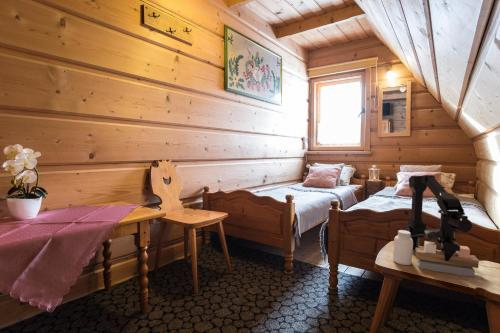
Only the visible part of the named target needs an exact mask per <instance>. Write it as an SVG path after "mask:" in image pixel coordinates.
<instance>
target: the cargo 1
mask: <svg viewBox="0 0 500 333" xmlns="http://www.w3.org/2000/svg"><path fill="white" fill-rule="evenodd" d="M423 249H424V251H425V252H427V253H434V254H436V250H437V244H436V242H433V241H427V240H424V244H423Z"/></svg>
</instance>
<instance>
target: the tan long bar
mask: <svg viewBox="0 0 500 333" xmlns="http://www.w3.org/2000/svg"><path fill="white" fill-rule="evenodd" d="M414 250H415V252H414V255H415V258H416V260H418V259H419V260H426V261H433V262H440V263H446V264H453V265H460V266H466V267H472V268H473V269H474V268H475V269H479V263H480V260H479V259H478V258H477V256H476V255H474V254H473V255H471V254H470V257H469V258H461V257H458V256H457V255H456V252H455V253H454V254H453V255H452V257H451V258H450V259H449V261H445V256H444V251H441V250H437V249H436V254H434V253H427V252H425V251H424V248H420V247H419V248H416V249H414Z"/></svg>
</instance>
